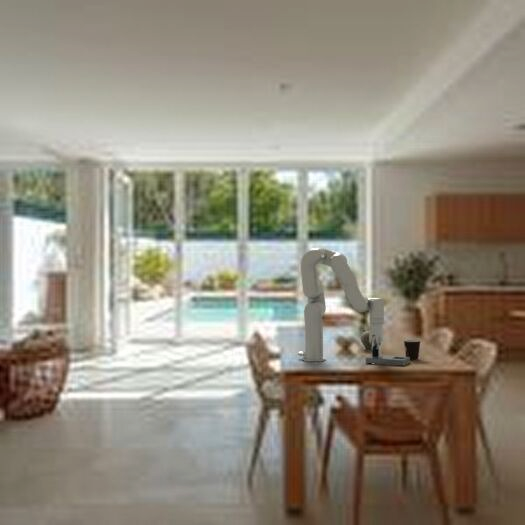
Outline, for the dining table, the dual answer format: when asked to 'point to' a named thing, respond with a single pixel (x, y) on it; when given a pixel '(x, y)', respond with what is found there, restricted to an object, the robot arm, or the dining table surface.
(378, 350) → the plug
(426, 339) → the dining table surface
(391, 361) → the panel
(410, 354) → the coffee mug
